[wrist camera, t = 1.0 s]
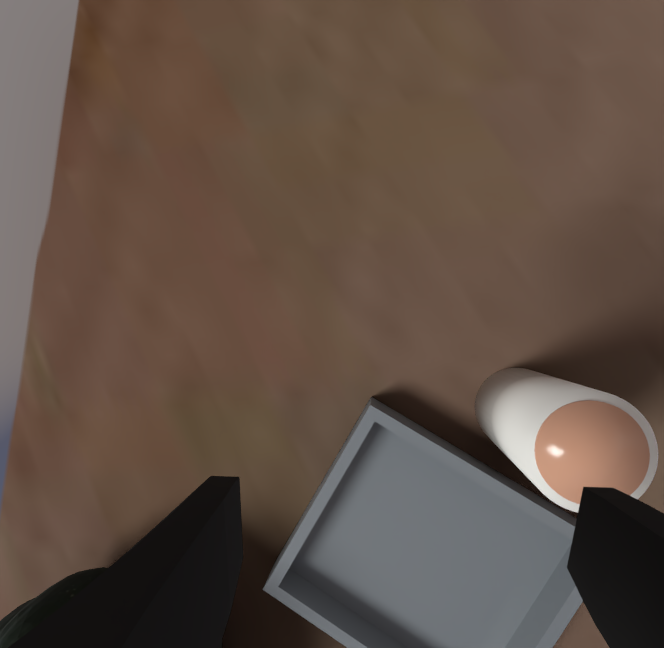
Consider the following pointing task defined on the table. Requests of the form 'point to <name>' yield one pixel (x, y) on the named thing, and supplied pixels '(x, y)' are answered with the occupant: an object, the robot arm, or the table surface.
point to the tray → (426, 548)
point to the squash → (44, 606)
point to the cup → (567, 435)
